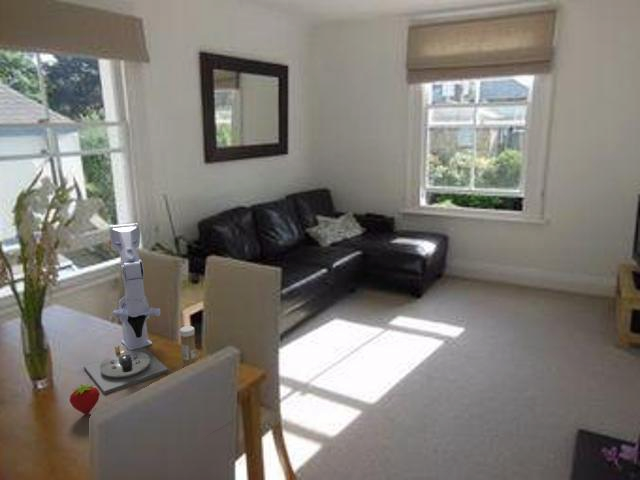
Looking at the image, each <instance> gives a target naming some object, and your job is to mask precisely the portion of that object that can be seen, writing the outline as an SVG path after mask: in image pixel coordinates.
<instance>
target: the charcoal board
mask: <svg viewBox="0 0 640 480" xmlns="http://www.w3.org/2000/svg"><path fill="white" fill-rule="evenodd" d="M131 351H136V352H143V353H145V354H147V355H148V356H149V358H150V365H149V367H148V368H147V369H146V370H145V371H143V372H141V373H140V374H137V375H135V376H131V377H127V378H120V379H113V378H107V377H105V376H103V375H102V374H101V371H100V365H101V363H102V362H103V361H104V360H105V359H106V358H103V359H101V360H98V361H94V362H92V363H89V364H86V365H85V364H84V365H83V370H84V371H85V372H86V373H87V374H88V375H89V376H90V378H91V379H92V380H93V382H94V383H95V384H96V385H97V387H98V389H100V391H102V393H103V394H104V395H106V394H109V393H112V392H115V391H118V390H121V389H123V387H124V388H127V387H129V386H132V385H134V384H138V383H141V382H143V380H144V381H146V380H149V379H152V378H155V377H157V376H158V377H159V376H160V375H163V374H165V373H168V372H169V368H168V367H167V366H166V365H165V364H163V362H161V361H160V360H159V359H157V357H156V356H155V355H153V354H152V353H151V352H150V351H149V350H148V349H147V348H145V346H144V347H141V348H138V349H134V350H129V352H131ZM126 386H127V387H126ZM120 388H121V389H120Z"/></svg>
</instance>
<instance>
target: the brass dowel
mask: <svg viewBox="0 0 640 480" xmlns="http://www.w3.org/2000/svg"><path fill="white" fill-rule="evenodd" d="M120 351H121V350H120V345H115V346H114V352H115V354H119V353H120Z"/></svg>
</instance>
